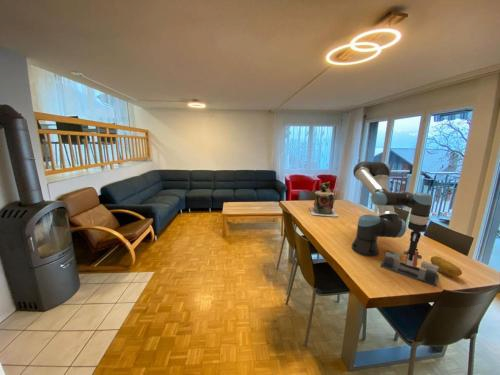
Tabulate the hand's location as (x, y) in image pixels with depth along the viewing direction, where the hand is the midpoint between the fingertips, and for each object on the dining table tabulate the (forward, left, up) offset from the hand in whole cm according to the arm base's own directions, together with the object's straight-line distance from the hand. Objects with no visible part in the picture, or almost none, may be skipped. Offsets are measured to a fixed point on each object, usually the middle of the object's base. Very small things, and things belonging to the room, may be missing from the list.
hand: (410, 263), depth 112 cm
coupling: (0, 0, 0) cm, 1 cm away
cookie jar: (-77, +62, -5) cm, 99 cm away
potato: (+14, +13, -5) cm, 20 cm away
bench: (0, 0, -5) cm, 5 cm away
